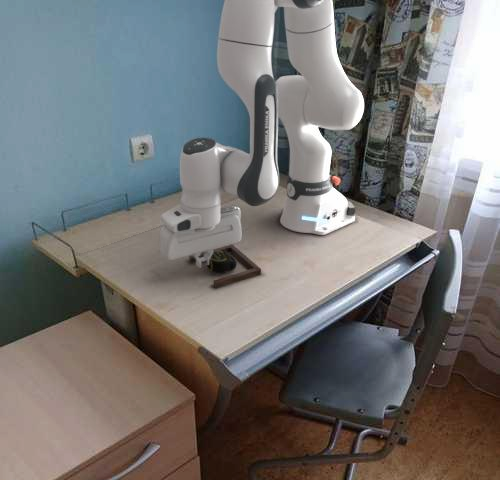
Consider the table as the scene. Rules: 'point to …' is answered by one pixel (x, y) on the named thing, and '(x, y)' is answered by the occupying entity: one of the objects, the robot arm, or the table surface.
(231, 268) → the tape measure
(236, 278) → the bay
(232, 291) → the table surface
